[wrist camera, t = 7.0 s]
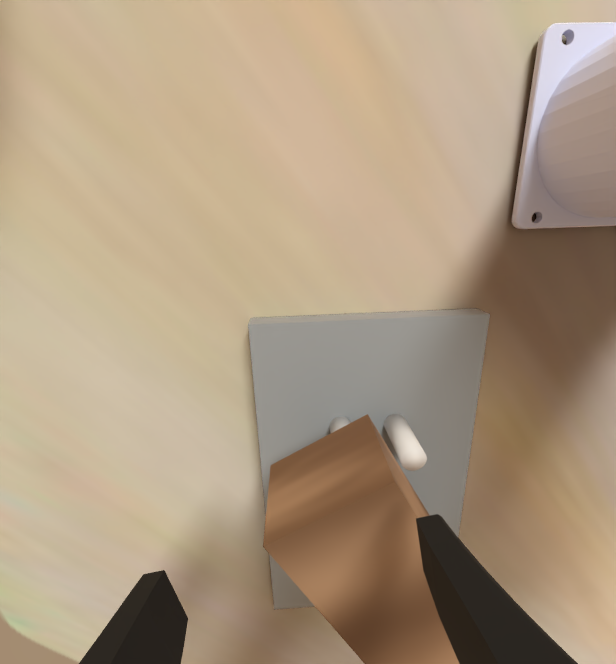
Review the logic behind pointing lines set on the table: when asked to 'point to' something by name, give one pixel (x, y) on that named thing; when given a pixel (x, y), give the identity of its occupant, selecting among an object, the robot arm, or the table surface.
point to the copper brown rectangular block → (356, 545)
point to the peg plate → (372, 396)
